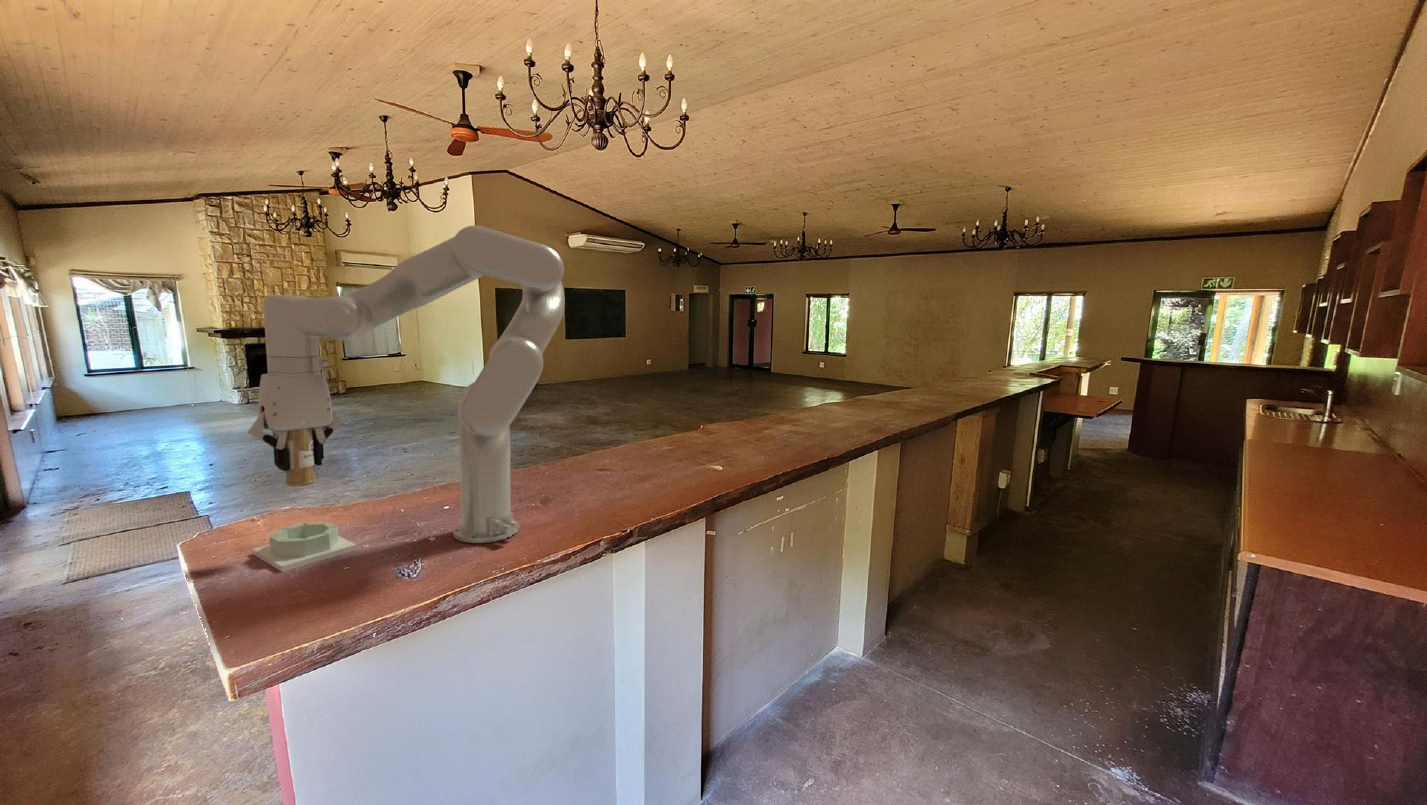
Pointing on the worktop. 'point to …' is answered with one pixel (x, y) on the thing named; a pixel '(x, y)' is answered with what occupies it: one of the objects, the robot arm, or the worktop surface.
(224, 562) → the worktop surface
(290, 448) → the sprinkles bottle
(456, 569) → the worktop surface
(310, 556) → the bottle collar
